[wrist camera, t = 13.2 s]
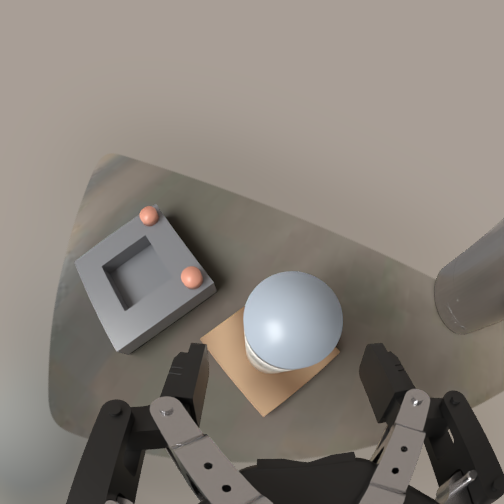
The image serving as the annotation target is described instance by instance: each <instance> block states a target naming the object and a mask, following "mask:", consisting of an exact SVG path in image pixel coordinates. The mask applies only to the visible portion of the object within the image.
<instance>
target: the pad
mask: <svg viewBox="0 0 504 504" xmlns="http://www.w3.org/2000/svg"><path fill="white" fill-rule="evenodd" d="M244 309H245V306H244V307H243V308H241V309H240V310H239V311H237V312H236V313H235V314H233V315H232V316H231V317H229V318H228V319H227V320H225V321H224V322H223V323H221V324H220V325H218V326H217V327H216V328H214V329H213V330H212V331H210V332H209V333H207V334H206V335H205V336H203V337H202V338H201V339H200V340H201V341H202V342H203V344H207V349H208V350H209V352H210V353H211V354H212V356H213V357H214V358H215V359H216V361H217V362H218V363H219V365H220V366H221V367H222V368H223V370H224V371H225V372H226V373H227V375H228V376H229V377H230V378H231V380H232V381H233V382H234V383H235V384H236V386H237V387H238V388H239V389H240V390H241V392H242V393H243V394H244V395H245V396H246V398H247V399H248V400H249V401H250V402H251V403H252V404H253V406H254V407H255V408H256V409H257V410H258V411H259V412H260V414H261V415H262V416H263V417H264V416H265V415H267V414H268V413H269V412H271V411H272V410H273V409H275V408H276V407H277V406H278V405H280V404H281V403H282V402H284V401H285V400H286V399H287V398H289V397H290V396H291V395H292V394H293V393H295V392H296V391H297V390H298V389H300V388H301V387H302V386H303V385H304V384H305V383H307V382H308V381H309V380H310V379H311V378H312V377H314V376H315V375H316V374H317V373H318V372H319V371H320V370H321V369H323V368H324V367H325V366H326V365H327V364H328V363H329V362H330V361H331V360H332V359H333V358H334V357H336V356H337V355H338V354H339V353H340V351H339V350H338V349H337V348H336V347H335V348H334V349H333V350H332V352H331V353H330V354H329V355H328V356H327V357H326V358H324V359H323V360H322V361H320V362H318V363H317V364H314V365H312V366H309V367H305V368H301V369H296V370H291V371H285V372H280V373H273V374H268V373H263V372H260V371H258V370H257V369H255V368H254V367H253V366H252V365H251V363H250V362H249V360H248V358H247V355H246V346H245V334H244V322H243V316H244Z"/></svg>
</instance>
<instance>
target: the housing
mask: <svg viewBox="0 0 504 504" xmlns="http://www.w3.org/2000/svg"><path fill="white" fill-rule="evenodd" d="M75 265H76V267H77V270H78V272H79V275H80V277H81V280H82V282H83V284H84V287H85V289H86V291H87V294H88V296H89V298H90V300H91V302H92V305H93V307H94V309H95V311H96V313H97V315H98V317H99V319H100V321H101V323H102V325H103V327H104V329H105V331H106V333H107V335H108V337H109V338H110V340H111V342H112V344H113V346H114V348H115V349H116V351H117V352H120V353H124V354H127V355H129V354H130V353H131V352H133V351H134V350H136V349H137V348H138V347H140V346H141V345H143V344H144V343H146V342H147V341H148V340H150V339H151V338H153V337H154V336H155V335H157V334H158V333H160V332H161V331H162V330H164V329H165V328H167V327H168V326H170V325H171V324H172V323H174V322H175V321H177V320H178V319H179V318H181V317H182V316H184V315H185V314H186V313H188V312H189V311H191V310H192V309H193V308H195V307H196V306H197V305H199V304H200V303H202V302H203V301H204V300H206V299H207V298H209V297H210V296H211V295H213V294H214V293H216V292H217V290H216V287H215V284H214V282H213V281H212V279H211V278H210V277H209V276H208V274H207V273H206V272H205V270H204V269H203V268H202V266H201V265H200V264H199V263H198V261H197V260H196V259H195V257H194V256H193V255H192V253H191V252H190V251H189V249H188V248H187V246H186V245H185V244H184V242H183V241H182V240H181V238H180V237H179V236H178V234H177V233H176V232H175V230H174V229H173V227H172V226H171V225H170V223H169V222H168V220H167V219H166V218H165V216H164V215H163V213H162V212H161V211H160V209H159V208H158V206H157V205H156V204H155V205H153V206H148V207H145V208H144V209H142V210H141V212H140V215H138V216H137V217H135V218H134V219H132V220H131V221H129V222H128V223H126V224H125V225H123V226H122V227H120V228H119V229H118V230H116V231H115V232H113V233H112V234H111V235H109V236H108V237H106V238H105V239H104V240H102V241H101V242H100V243H98V244H97V245H96V246H94V247H93V248H92V249H90V250H89V251H88V252H86V253H85V254H84V255H82V256H81V257H80V258H78V259H77V260H76V261H75Z"/></svg>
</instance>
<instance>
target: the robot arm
mask: <svg viewBox="0 0 504 504" xmlns="http://www.w3.org/2000/svg"><path fill="white" fill-rule="evenodd" d="M434 295H435V303H436V306H437V310H438V312H439V315H440V317H441V319H442V320H443V322H444V324H445V325H446V326H447V327H448V328H449V329H450V330H452V331H453V332H455V333H458V334H467V333H470V332H473V331H476V330H479V329H482V328H484V327H487V326H490V325H492V324H495V323H497V322H500V321H502V320H504V218H503V219H502V220H501V221H500V222H499V223H498V224H497V225H496V226H495V227H493V228H492V229H491V230H490V231H489V232H488V233H487V234H485V235H484V236H483V237H482V238H481V239H479V240H478V241H477V242H476V243H475V244H473V245H472V246H471V247H470V248H468V249H467V250H466V251H465V252H463V253H462V254H460V255H459V256H458V257H457V258H455V259H454V260H453V261H451V262H450V263H449V264H447V265H446V266H445V267H444V268H442V269H441V271H440V272H439V274H438V276H437V278H436V282H435V292H434ZM359 374H360V378H361V381H362V383H363V386H364V388H365V391H366V393H367V396H368V398H369V401H370V403H371V406H372V409H373V411H374V414H375V417H376V419H377V422H378V423H383V422H386V423H387V426H386V428H385V430H384V433H383V435H382V437H381V439H380V441H379V443H378V445H377V448H376V450H375V452H374V454H373V455H372V457H371V459H370V460H366V459H362V458H355V454H354V452H349V453H342V454H335V455H330V456H327V457H324V458H321V459H318V460H315V461H312V462H308V463H307V462H299V461H292V460H286V459H257V465H254V466H250V467H246V468H244V469H241V470H240V471H238V470H237V469H236V468H235V466H234V465H233V464H232V463H231V462H230V461H229V460H228V458H227V457H226V456H225V455H224V454H223V452H222V451H221V450H220V449H219V448H218V446H217V445H216V444H215V443H214V441H213V440H212V439H211V438H210V437H209V436H208V435H207V434H205V435H204V434H203V433H202V432H201V430H200V429H199V425H200V420H201V415H202V409H203V404H204V399H205V393H206V388H207V383H208V377H209V362H208V350H207V344H198V343H191V345H190V348H189V352H188V353H184V352H180V353H179V354H178V355H177V356H176V357H175V358H174V360H173V362H172V365H171V368H170V371H169V374H168V376H167V379H166V382H165V385H164V387H163V390H162V393H161V396H160V398H157V399H156V400H154V401H153V402H152V403H151V405H148V406H143V407H130V406H129V405H128V404H127V403H126V402H125V401H122V400H111V401H108V402H106V403H105V404H104V405H103V406H102V408H101V410H100V412H99V415H98V417H97V419H96V422H95V424H94V427H93V429H92V432H91V434H90V437H89V439H88V442H87V445H86V447H85V450H84V453H83V455H82V458H81V461H80V464H79V466H78V469H77V472H76V475H75V478H74V481H73V484H72V487H71V490H70V493H69V496H68V500H67V503H66V504H134V503H135V498H136V493H137V488H138V483H139V478H140V474H141V468H142V464H143V460H144V455H145V451H146V450H147V449H160V448H165V449H166V450H167V452H168V454H169V455H170V457H171V458H172V460H173V462H174V463H175V465H176V466H177V468H178V469H179V471H180V472H181V474H182V475H183V477H184V479H185V480H186V482H187V483H188V485H189V487H190V488H191V490H192V491H193V492H194V494H195V495H196V496H197V498H198V499H199V500H200V503H199V504H491V503H493V502H494V501H496V500H497V499H498V498H500V497H501V496H502V495H503V494H504V474H503V472H502V469H501V467H500V464H499V462H498V460H497V458H496V455H495V453H494V451H493V449H492V447H491V445H490V443H489V441H488V439H487V437H486V435H485V433H484V431H483V429H482V427H481V425H480V423H479V422H478V420H477V418H476V416H475V414H474V412H473V410H472V409H471V407H470V405H469V403H468V402H467V400H466V398H465V397H464V395H463V394H461V393H460V392H457V391H449V392H447V393H446V394H445V396H444V397H443V398H430V397H429V396H428V394H427V393H426V392H424V391H422V390H420V389H416V388H415V387H414V385H413V383H412V381H411V380H410V378H409V376H408V374H407V373H406V371H404V368H403V366H402V365H401V363H400V361H399V359H398V357H396V356H395V355H394V354H393V353H392V352H387V350H386V348H385V347H384V345H383V344H382V343H376V344H368V345H367V346H366V349H365V352H364V355H363V358H362V361H361V364H360V368H359ZM448 429H450V431H451V433H452V436H453V438H454V444H453V442H452V439H451V437H450V435H449V432H448ZM423 442H424V444H425V447H426V450H427V452H428V455H429V458H430V461H431V464H432V467H433V470H434V473H435V476H436V479H437V482H438V485H439V489H438V490H437V493H436V499H435V500H434V499H432V498H430V497H429V496H427V495H425V494H423V493H422V492H420V491H418V490H417V489H415V488H413V487H412V486H410V485H409V482H410V480H411V477H412V474H413V472H414V469H415V466H416V463H417V461H418V458H419V455H420V452H421V448H422V445H423Z"/></svg>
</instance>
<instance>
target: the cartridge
mask: <svg viewBox="0 0 504 504" xmlns="http://www.w3.org/2000/svg"><path fill="white" fill-rule="evenodd" d="M243 322H244V334H245V346H246V355H247V358H248V360H249V362H250V363H251V365H252V366H253V367H254V368H255V369H257V370H258V371H260V372H263V373H268V374H273V373H280V372H285V371H291V370H296V369H301V368H305V367H309V366H312V365H314V364H317V363H318V362H320V361H322V360H323V359H324V358H326V357H327V356H328V355H329V354H330V353H331V352H332V350H333V349H334V348H335V346H336V345H337V343H338V341H339V338H340V336H341V332H342V327H343V314H342V309H341V306H340V303H339V301H338V298H337V297H336V295H335V293H334V292H333V291H332V290H331V288H330V287H329V286H328V285H327V284H326V283H324V282H323V281H322V280H320V279H319V278H317V277H315V276H313V275H310V274H307V273H304V272H298V271H288V272H281V273H278V274H275V275H272V276H270V277H268V278H266V279H265V280H263V281H262V282H261V283H260V284H258V285H257V287H256V288H255V289H254V290H253V291H252V293H251V294H250V296H249V298H248V300H247V302H246V305H245V309H244V316H243Z"/></svg>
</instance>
